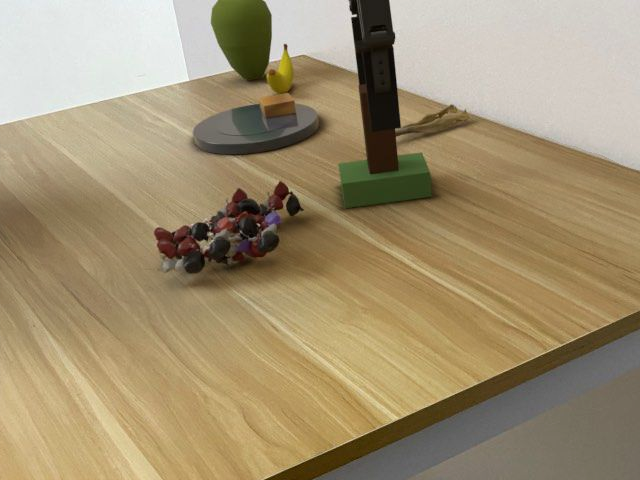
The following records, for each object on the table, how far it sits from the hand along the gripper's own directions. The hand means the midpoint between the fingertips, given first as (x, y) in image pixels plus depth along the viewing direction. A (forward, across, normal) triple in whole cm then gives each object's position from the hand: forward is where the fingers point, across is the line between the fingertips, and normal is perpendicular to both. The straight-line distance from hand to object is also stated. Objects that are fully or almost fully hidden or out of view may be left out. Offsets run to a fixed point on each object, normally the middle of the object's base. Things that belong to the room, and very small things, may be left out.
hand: (379, 108), depth 79 cm
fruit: (+8, +43, +11) cm, 45 cm away
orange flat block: (+7, +29, +11) cm, 32 cm away
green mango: (+8, +52, +15) cm, 55 cm away
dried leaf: (+6, +17, -6) cm, 19 cm away
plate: (+8, +26, +14) cm, 31 cm away
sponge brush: (+8, 0, 0) cm, 8 cm away
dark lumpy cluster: (+8, -10, +16) cm, 21 cm away
